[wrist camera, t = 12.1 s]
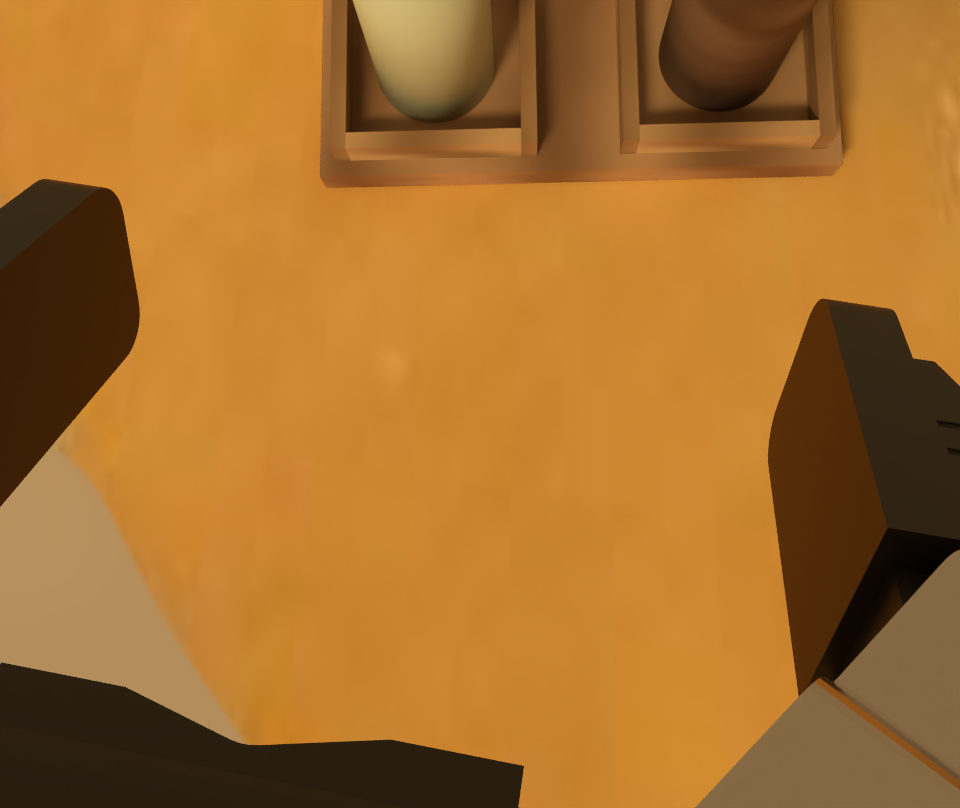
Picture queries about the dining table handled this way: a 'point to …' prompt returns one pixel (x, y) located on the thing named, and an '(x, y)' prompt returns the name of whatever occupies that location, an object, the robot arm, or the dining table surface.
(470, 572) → the dining table surface
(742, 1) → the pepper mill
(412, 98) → the salt mill
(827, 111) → the cruet stand
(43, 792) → the robot arm
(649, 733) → the dining table surface
